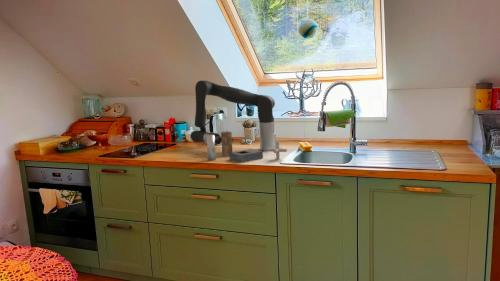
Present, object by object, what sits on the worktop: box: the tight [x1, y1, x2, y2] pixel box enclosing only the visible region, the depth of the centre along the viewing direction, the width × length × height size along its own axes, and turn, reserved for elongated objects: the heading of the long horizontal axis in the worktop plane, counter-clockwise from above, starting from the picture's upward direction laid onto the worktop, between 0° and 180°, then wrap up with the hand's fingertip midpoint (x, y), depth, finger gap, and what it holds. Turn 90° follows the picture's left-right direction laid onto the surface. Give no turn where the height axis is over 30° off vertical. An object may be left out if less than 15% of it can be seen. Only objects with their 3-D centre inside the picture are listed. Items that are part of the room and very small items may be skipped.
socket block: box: [228, 148, 264, 163], centre depth 213 cm, size 15×11×4 cm
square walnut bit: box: [220, 131, 233, 158], centre depth 224 cm, size 4×4×14 cm
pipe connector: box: [268, 140, 288, 160], centre depth 209 cm, size 10×10×10 cm
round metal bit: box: [206, 135, 217, 162], centre depth 213 cm, size 4×4×14 cm
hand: (226, 141), depth 224 cm, fingers open, 8 cm apart
